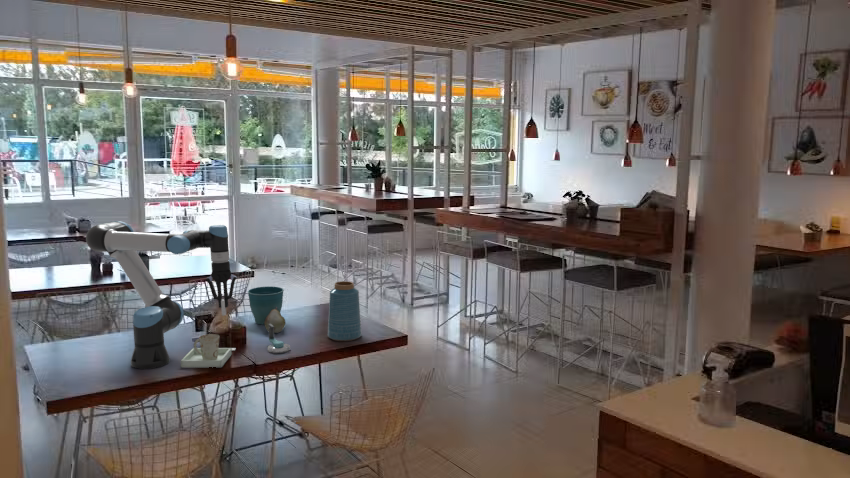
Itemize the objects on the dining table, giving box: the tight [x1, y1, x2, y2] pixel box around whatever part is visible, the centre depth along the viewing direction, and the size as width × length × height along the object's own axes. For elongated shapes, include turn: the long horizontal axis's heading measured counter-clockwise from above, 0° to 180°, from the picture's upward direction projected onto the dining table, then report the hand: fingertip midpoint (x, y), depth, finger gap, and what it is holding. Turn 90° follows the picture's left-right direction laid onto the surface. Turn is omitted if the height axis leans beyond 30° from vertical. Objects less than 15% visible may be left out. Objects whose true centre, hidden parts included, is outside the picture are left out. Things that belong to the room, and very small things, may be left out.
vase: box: [327, 280, 362, 342], centre depth 320 cm, size 16×16×27 cm
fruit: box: [264, 307, 286, 334], centre depth 328 cm, size 10×9×12 cm
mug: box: [193, 333, 220, 360], centre depth 286 cm, size 8×13×10 cm, turn 72°
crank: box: [268, 324, 285, 348], centre depth 305 cm, size 15×4×8 cm, turn 32°
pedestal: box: [267, 343, 291, 354], centre depth 302 cm, size 10×10×2 cm
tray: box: [180, 347, 233, 369], centre depth 286 cm, size 17×17×3 cm
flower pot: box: [247, 285, 284, 326], centre depth 345 cm, size 18×18×17 cm
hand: (224, 314), depth 288 cm, fingers closed
